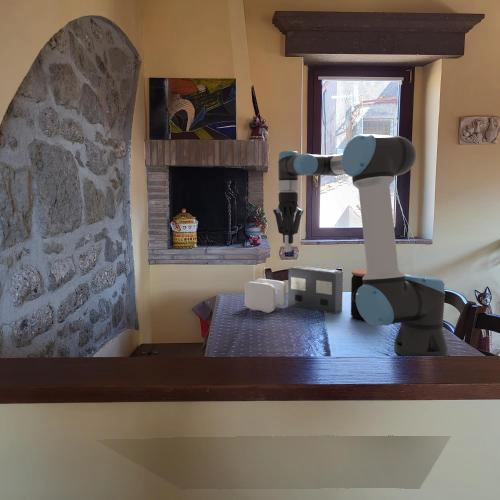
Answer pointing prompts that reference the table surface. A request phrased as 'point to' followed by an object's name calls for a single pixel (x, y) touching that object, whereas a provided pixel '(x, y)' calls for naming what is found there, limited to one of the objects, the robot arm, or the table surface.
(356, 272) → the coffee jar
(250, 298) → the cable organizer
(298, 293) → the box
